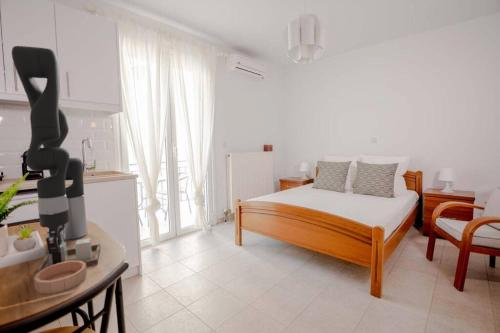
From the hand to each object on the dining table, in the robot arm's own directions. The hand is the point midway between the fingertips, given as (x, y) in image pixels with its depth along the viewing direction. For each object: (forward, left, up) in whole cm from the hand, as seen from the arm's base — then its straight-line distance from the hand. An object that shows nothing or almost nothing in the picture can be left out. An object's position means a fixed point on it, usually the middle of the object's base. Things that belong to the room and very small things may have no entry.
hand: (58, 260), depth 82 cm
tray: (0, +4, -1) cm, 4 cm away
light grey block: (0, 0, -1) cm, 1 cm away
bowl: (+13, +3, -1) cm, 14 cm away
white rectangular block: (0, +7, -1) cm, 7 cm away
